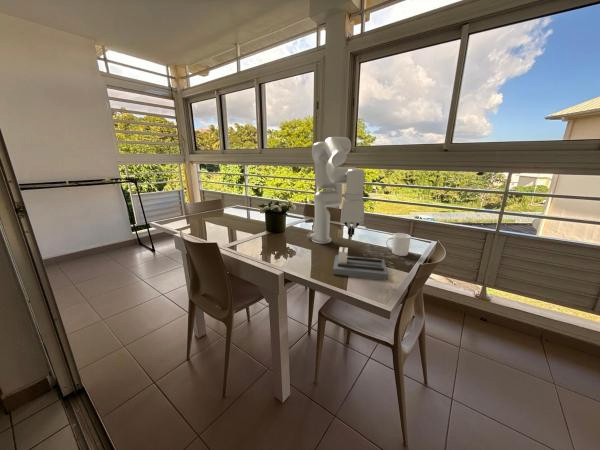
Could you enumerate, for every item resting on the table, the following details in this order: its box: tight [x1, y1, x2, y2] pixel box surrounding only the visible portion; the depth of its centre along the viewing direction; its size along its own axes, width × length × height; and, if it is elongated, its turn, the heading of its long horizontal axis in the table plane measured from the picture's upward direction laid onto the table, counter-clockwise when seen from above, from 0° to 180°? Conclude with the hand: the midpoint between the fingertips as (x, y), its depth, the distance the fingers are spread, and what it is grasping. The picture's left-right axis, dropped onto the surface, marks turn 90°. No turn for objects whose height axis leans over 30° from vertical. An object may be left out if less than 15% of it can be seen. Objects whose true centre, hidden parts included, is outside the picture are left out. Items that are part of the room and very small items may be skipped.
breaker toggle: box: [338, 246, 349, 264], centre depth 115 cm, size 4×6×6 cm, turn 168°
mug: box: [386, 232, 411, 257], centre depth 134 cm, size 9×12×11 cm
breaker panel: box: [332, 254, 389, 281], centre depth 115 cm, size 24×16×4 cm, turn 78°
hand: (350, 235), depth 112 cm, fingers closed
